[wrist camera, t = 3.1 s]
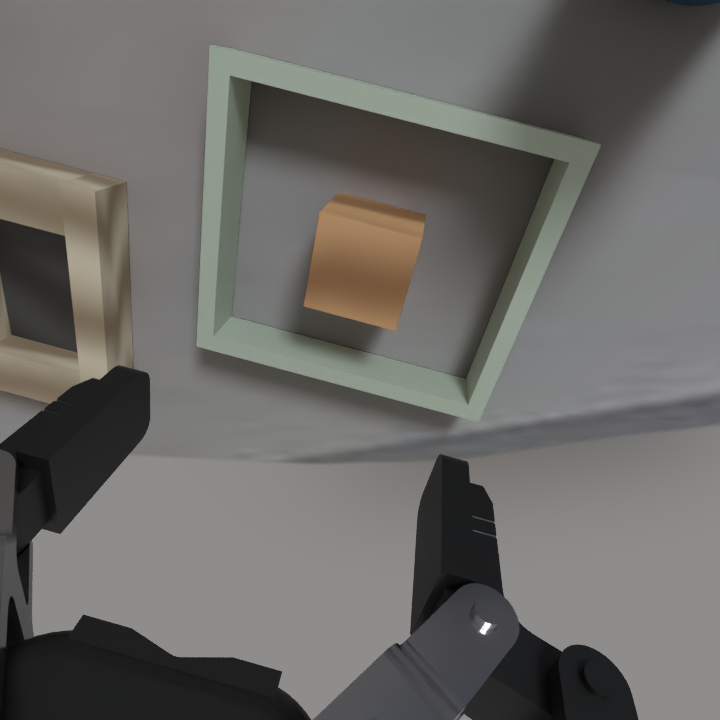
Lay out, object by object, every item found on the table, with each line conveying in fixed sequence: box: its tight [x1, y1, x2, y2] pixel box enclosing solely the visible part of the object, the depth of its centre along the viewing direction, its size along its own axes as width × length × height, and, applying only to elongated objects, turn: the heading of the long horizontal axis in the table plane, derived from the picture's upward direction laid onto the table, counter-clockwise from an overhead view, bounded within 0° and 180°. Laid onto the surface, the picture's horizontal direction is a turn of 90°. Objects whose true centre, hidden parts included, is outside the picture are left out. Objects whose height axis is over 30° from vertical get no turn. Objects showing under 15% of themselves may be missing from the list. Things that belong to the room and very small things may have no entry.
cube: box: [304, 192, 426, 331], centre depth 26 cm, size 5×5×5 cm
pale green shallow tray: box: [197, 45, 601, 422], centre depth 27 cm, size 16×18×3 cm
